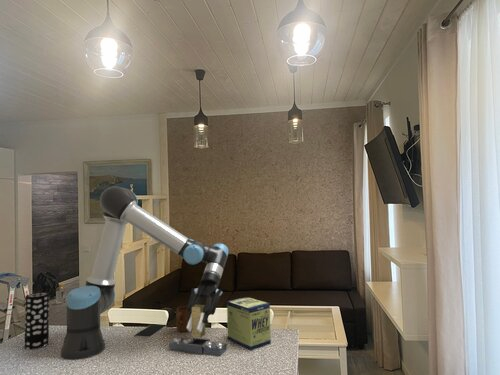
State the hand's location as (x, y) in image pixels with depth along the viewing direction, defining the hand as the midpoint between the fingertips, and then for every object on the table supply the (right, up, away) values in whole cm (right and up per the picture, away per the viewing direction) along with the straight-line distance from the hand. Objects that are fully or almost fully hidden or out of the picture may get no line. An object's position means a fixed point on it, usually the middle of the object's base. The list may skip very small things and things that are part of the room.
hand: (193, 330), depth 128 cm
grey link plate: (+1, -9, +3) cm, 9 cm away
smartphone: (-23, -12, +25) cm, 36 cm away
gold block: (+1, -3, +3) cm, 5 cm away
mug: (-9, -11, +24) cm, 28 cm away
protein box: (+20, -9, +10) cm, 24 cm away
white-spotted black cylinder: (-66, -11, +12) cm, 68 cm away
